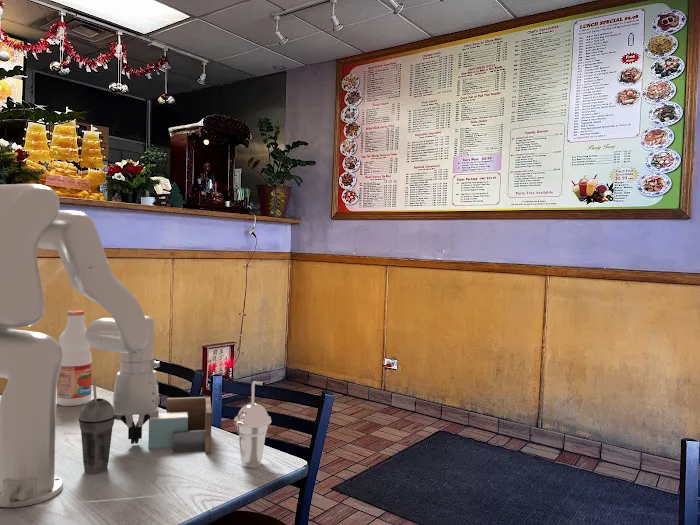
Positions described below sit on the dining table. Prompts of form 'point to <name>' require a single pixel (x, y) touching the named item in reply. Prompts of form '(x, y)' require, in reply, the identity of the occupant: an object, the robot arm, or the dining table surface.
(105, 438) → the beverage cup
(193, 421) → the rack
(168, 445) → the pale teal block
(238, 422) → the cup with straw
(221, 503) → the dining table surface
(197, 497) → the dining table surface
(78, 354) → the fruit juice
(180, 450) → the dark grey rectangular block
